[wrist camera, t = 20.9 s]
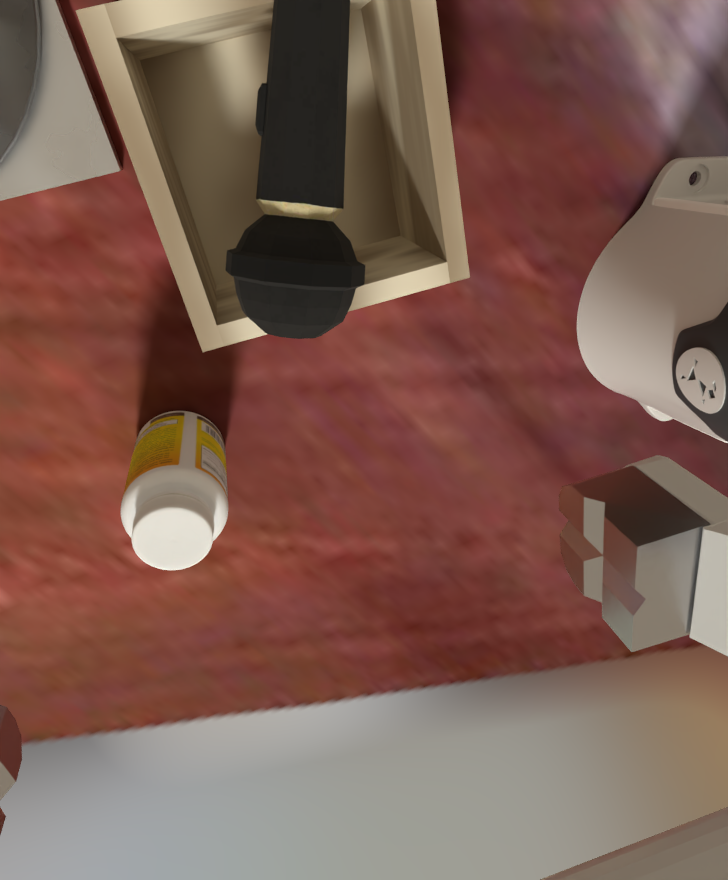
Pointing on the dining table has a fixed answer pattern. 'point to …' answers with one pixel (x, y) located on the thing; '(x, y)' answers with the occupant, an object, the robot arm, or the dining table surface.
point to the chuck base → (58, 120)
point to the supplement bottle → (176, 490)
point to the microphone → (300, 179)
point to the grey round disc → (17, 67)
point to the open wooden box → (238, 143)
